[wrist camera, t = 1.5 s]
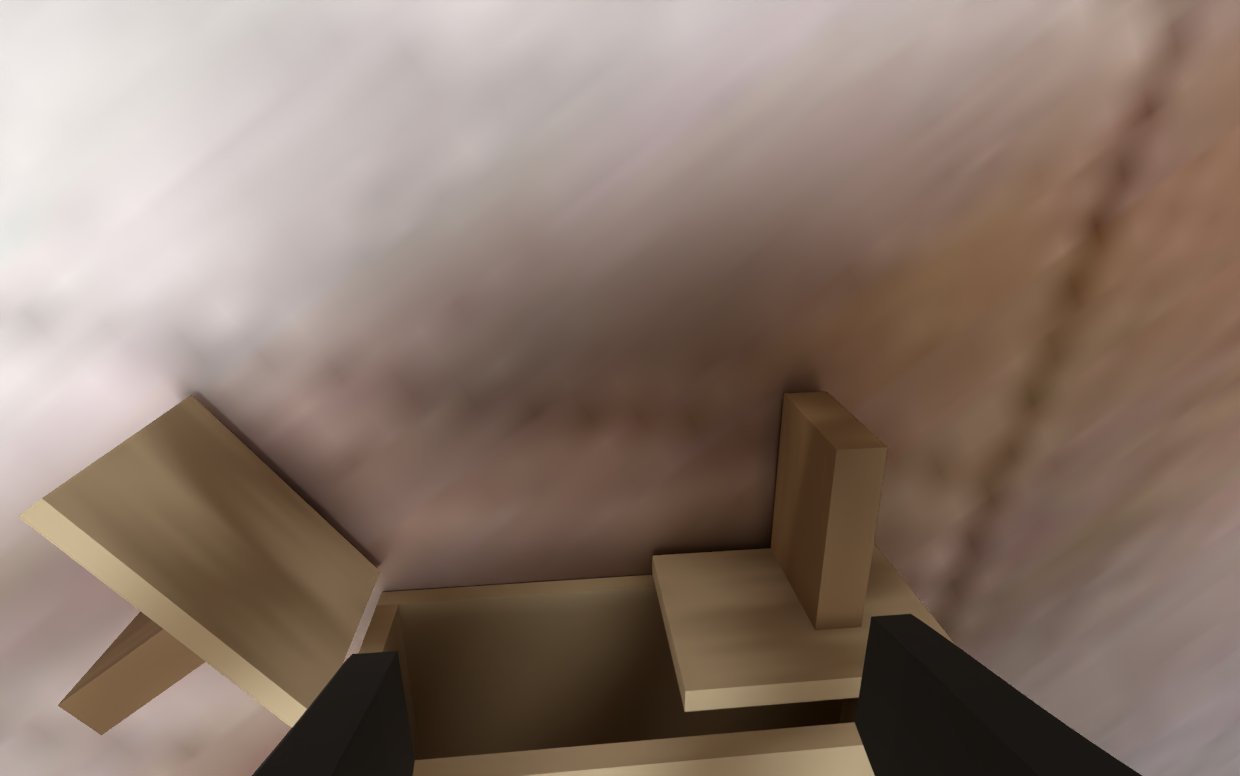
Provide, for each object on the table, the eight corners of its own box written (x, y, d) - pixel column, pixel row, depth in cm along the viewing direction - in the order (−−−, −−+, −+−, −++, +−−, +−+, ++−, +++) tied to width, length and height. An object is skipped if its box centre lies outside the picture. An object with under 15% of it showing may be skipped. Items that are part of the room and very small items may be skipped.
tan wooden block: (35, 516, 17) (-166, 661, 12) (190, 394, 17) (41, 498, 12) (235, 671, 20) (130, 846, 15) (379, 571, 19) (319, 719, 14)
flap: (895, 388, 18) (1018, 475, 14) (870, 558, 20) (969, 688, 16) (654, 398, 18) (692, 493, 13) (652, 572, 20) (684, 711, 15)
